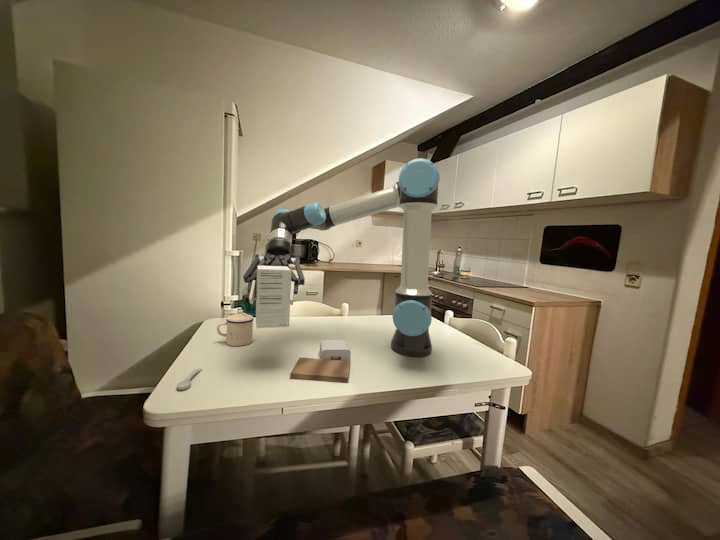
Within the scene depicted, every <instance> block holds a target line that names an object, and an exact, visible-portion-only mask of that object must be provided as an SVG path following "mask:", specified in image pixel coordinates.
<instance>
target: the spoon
mask: <svg viewBox="0 0 720 540" xmlns="http://www.w3.org/2000/svg"><path fill="white" fill-rule="evenodd" d="M200 371H201V372H202V371H203V369H202V368H194V369H193V371H191V372H190V373H189V374H188V375H187V377H186V378H185V379H184V380H182V381H179V383H177V385H176V389H177V390H178V391H185V389H186V390H188V389H190V387H191V386H192V381H191V379H192V378H193V377H195V375H197V374H199V373H201V372H200Z"/></svg>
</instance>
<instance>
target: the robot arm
mask: <svg viewBox="0 0 720 540" xmlns="http://www.w3.org/2000/svg"><path fill="white" fill-rule="evenodd" d="M440 180H441V179H440V172H439V169H438V168H437V166H436V165H435V163H434V162H432V160H429V159H427V158H423V157H422V158H420V157H419V158H414V159H412V160H409V161H407V162H406V164H404V166H403V167H402V168H401V170H400V172H399V176H398V181H396V182H394V184H393V185H392V186H391V187H387V188H384V189H381V190H377V191H375V192H374V191H373V192H371V193H369V194H366V195H362V196H359V197H356V198H352V199H349V200H347V201H343V202H340V203H338V204H333V205H331V206H328V207H325V208H324V206H323V205H321V203H320V202H318V201H316V202H312V203H307V204H306V205H303V206H301V207H299V208H295V209H294V210H290V209H287V208H279V209H277V210H276V211H275V212H274V213H273V216H272V219H271V225H270V226H271V227H270V232H269V237H268V244H267V248H266V253H265V255H264V256H262V255H260V254H258V253H257V254H255V255H254V259H253V261H252V262H251V264H250V265H249V267H248V268H247V270H246V271H245V273H244V275H242V277H243V278H242V279H243V282H244V283H245V284H247V292H248V293H249V295H248V296H249V297H248V300H249V304H250V305H253V304H254V301H255V297H256V285H257V266H260V264H261V265H262V266H287V267H288V268H289V269H290V270H291V290H290V306H293V305H294V300H295V299H294V298H295V295H298V294H299V293H298V292H299V286H304V285H305V282H306V281H305V280H306V279H305V275H304V272H303V269H302V267H301V264H300V256H295V257H291V253H292V244H293V243H292V242H293V235H294V234H296V233H299V232H302V231H304V230H308V229H313V230H319V231H327V230H328V231H329V230H330V229H331V228H334V227H337V226H339V225H342V224H346V223H350V222H352V221H356V220H360V219H362V218H366V217H369V216H372V215H376V214H379V213H383V212H386V211H389V210H392V209H395V208H400V209H401V210H403V224H402V225H403V227H402V245H401V246H402V249H401V267H400V285H399V287H398V288H397V289H396V290H395V293H394V294H395V297H394V309H393V312H392V321H393V324H394V327H395V328H396V329H395V330H394V334H393V336H392V339H391V341H390V348H391V350H392V351H394V352H396V353H397V354H400V355H404V356H409V357H414V358H415V357H416V358H417V357H426V356H430V355H431V353H432V351H433V350H432V349H433V346H432V345H433V344H432V342H431V341H432V340H431V336H430V333H429V331H430V330H429V329H430V326H431V323H432V319H433V318H432V301H433V292H432V291H431V290H430V289H429V288H428V285H429V269H430V251H431V234H432V233H431V231H432V215H433V213H432V212H433V211H434V210H435V209H436V208H437V207H438V199H439V197H438V196H439V183H440ZM262 262H263V264H262ZM290 263H292V264H293V266H295V270H296V273H297V274H295V272H294V271H293V270H292V268H291V266H290V265H289V264H290ZM296 275H297V276H296Z"/></svg>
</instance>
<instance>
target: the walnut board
mask: <svg viewBox="0 0 720 540" xmlns="http://www.w3.org/2000/svg"><path fill="white" fill-rule="evenodd" d="M296 361H297V362H296V363H295V364H294V366H293V368H292V369H291V372H290V373H289V374H290V375H289V378H290V379H292V380H293V379H294V380H307V381H319V382H332V383H345V384H346V383H349V375H350V368H351V360H350V361H341V360H327V359H321V358H311V357H299V358H298V359H297V360H296Z"/></svg>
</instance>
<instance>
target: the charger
mask: <svg viewBox="0 0 720 540" xmlns="http://www.w3.org/2000/svg"><path fill="white" fill-rule="evenodd" d="M347 342H348V341H346V340H343V339H324V340H321V341H320V343H319V357H320V359H327V360H341V361H350V362H351V357H352V356H351V355H352V352H351V349H350V347H349V345H348V343H347Z"/></svg>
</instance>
